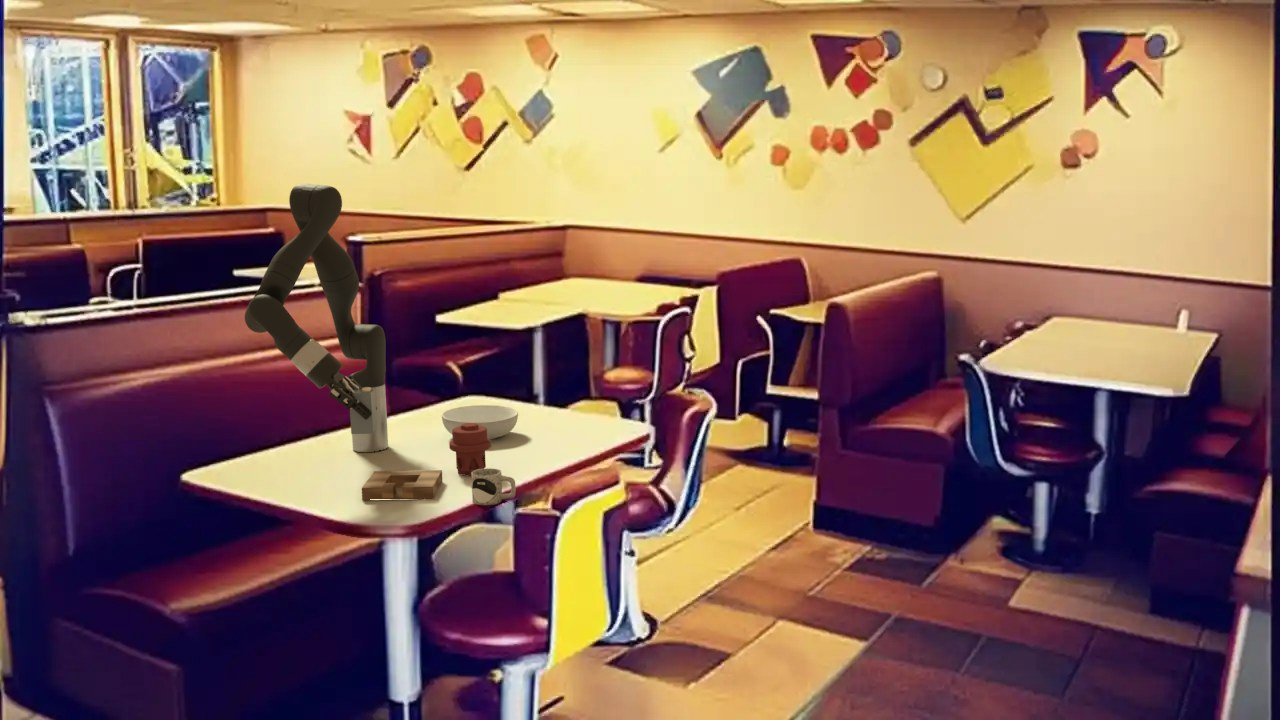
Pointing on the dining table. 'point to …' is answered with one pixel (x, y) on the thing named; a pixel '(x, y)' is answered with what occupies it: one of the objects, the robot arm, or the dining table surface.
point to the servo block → (357, 421)
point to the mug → (490, 486)
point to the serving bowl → (482, 418)
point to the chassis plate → (402, 485)
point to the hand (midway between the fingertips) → (371, 414)
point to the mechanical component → (469, 447)
